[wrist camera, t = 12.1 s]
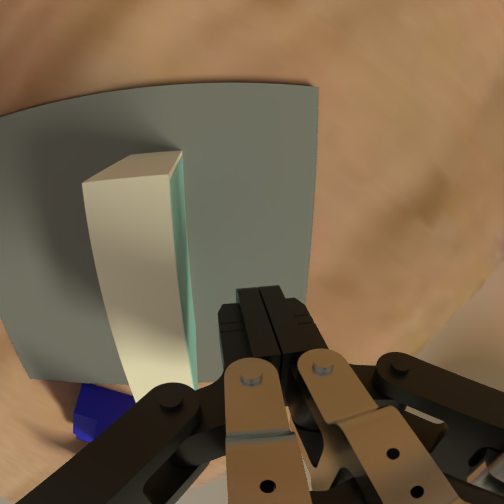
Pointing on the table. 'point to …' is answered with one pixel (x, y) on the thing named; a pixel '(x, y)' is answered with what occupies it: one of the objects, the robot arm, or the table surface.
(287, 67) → the table surface
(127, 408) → the blue u-shaped bracket
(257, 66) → the table surface
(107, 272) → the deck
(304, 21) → the table surface
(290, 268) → the mat
